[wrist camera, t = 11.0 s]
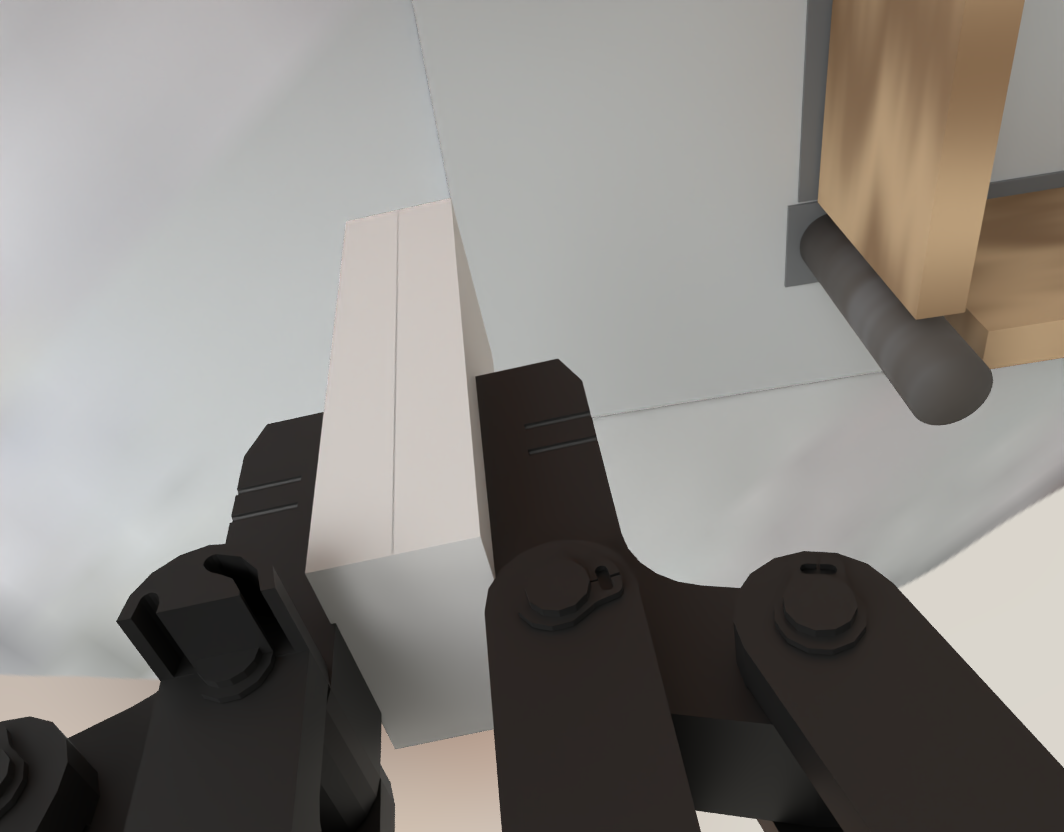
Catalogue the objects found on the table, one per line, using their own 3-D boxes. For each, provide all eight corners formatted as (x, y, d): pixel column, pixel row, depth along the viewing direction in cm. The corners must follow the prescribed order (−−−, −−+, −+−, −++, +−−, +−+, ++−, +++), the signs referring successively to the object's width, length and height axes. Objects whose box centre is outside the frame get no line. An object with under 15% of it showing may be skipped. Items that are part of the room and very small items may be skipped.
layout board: (370, -218, 21) (369, -217, 21) (1360, -378, 21) (1375, -380, 21) (495, 427, 33) (496, 435, 32) (1138, 325, 32) (1146, 331, 32)
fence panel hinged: (866, 194, 28) (989, 323, 22) (807, 203, 28) (914, 334, 22) (922, -317, 21) (1130, -339, 14) (842, -305, 21) (1017, -322, 14)
